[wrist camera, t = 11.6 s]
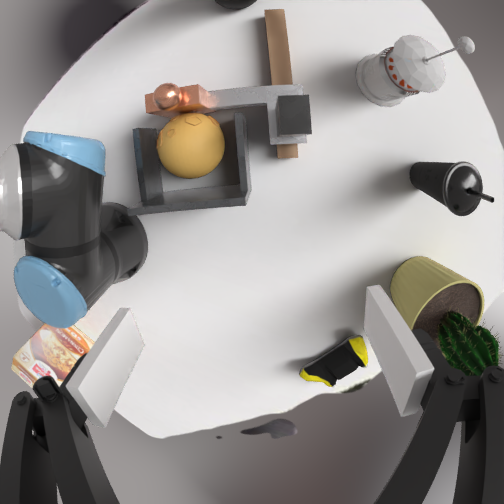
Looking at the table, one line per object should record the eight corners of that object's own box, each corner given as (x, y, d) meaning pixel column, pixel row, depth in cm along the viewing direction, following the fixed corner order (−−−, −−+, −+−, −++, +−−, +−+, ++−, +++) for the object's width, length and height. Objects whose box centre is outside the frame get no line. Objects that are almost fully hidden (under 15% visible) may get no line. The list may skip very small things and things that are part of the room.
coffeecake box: (102, 347, 62) (66, 402, 44) (94, 360, 64) (60, 412, 46) (57, 309, 59) (12, 355, 41) (51, 324, 61) (10, 369, 43)
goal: (158, 198, 48) (128, 216, 37) (150, 129, 44) (116, 128, 33) (251, 189, 47) (245, 205, 36) (245, 116, 43) (237, 108, 31)
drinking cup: (439, 157, 42) (514, 175, 24) (434, 198, 45) (504, 232, 26) (404, 150, 43) (476, 162, 24) (400, 193, 45) (466, 227, 27)
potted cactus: (446, 300, 52) (520, 393, 25) (385, 324, 55) (440, 440, 27) (443, 235, 47) (547, 317, 20) (375, 260, 50) (455, 374, 22)
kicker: (176, 153, 44) (128, 162, 28) (171, 100, 41) (122, 83, 25) (302, 143, 43) (322, 143, 27) (298, 87, 39) (315, 58, 23)
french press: (343, 69, 38) (410, 14, 15) (391, 41, 35) (471, -11, 12) (379, 117, 41) (471, 106, 18) (424, 87, 38) (521, 67, 15)
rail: (277, 157, 45) (277, 158, 42) (264, 16, 36) (264, 9, 33) (296, 156, 44) (298, 157, 42) (283, 16, 35) (283, 9, 33)
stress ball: (227, 167, 47) (247, 124, 38) (188, 203, 42) (202, 159, 33) (183, 135, 46) (194, 90, 38) (141, 165, 41) (145, 117, 33)
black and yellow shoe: (294, 359, 60) (320, 381, 62) (295, 377, 54) (323, 399, 57) (352, 321, 55) (374, 347, 58) (358, 337, 50) (381, 363, 52)
